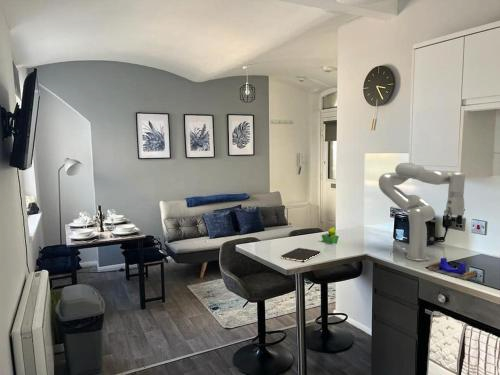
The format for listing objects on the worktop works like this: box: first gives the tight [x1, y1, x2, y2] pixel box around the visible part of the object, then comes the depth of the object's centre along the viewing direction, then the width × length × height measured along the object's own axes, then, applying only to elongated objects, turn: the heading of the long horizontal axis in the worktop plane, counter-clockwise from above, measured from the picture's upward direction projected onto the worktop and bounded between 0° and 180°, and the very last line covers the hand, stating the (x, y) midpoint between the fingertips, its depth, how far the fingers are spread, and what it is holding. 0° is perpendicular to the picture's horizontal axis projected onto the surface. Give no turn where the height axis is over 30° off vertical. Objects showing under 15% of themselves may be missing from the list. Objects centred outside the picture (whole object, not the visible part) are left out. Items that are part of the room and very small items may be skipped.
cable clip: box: [439, 257, 467, 275], centre depth 203 cm, size 12×4×6 cm, turn 32°
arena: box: [427, 261, 478, 281], centre depth 203 cm, size 20×11×3 cm, turn 32°
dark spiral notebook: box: [280, 247, 321, 261], centre depth 240 cm, size 16×23×2 cm
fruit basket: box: [321, 226, 340, 245], centre depth 273 cm, size 11×9×11 cm
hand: (453, 224), depth 211 cm, fingers open, 9 cm apart
